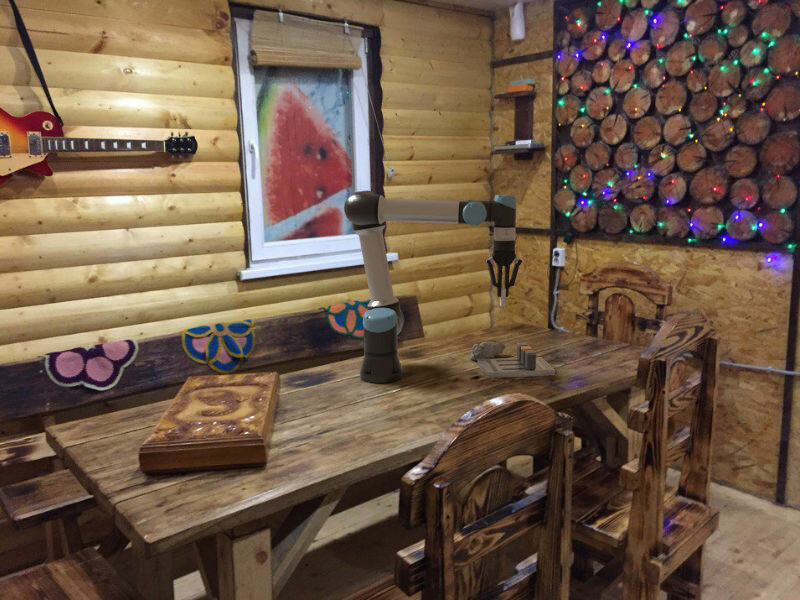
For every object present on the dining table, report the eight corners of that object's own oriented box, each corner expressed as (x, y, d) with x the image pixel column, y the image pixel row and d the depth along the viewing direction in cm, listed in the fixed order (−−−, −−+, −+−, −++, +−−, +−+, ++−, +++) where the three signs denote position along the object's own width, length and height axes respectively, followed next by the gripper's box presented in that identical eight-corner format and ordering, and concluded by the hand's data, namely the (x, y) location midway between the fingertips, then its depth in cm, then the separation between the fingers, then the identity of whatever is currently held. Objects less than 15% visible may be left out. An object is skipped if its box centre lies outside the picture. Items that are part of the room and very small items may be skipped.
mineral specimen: (495, 353, 257) (495, 336, 256) (507, 357, 251) (507, 340, 250) (463, 359, 249) (463, 342, 248) (474, 363, 243) (474, 346, 242)
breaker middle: (523, 364, 231) (523, 348, 230) (520, 362, 235) (521, 346, 234) (531, 364, 232) (531, 348, 231) (529, 361, 235) (529, 346, 234)
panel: (486, 378, 224) (486, 372, 224) (477, 364, 241) (477, 359, 241) (555, 375, 226) (555, 369, 225) (541, 362, 242) (541, 356, 242)
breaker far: (519, 360, 237) (519, 345, 236) (517, 357, 240) (517, 342, 239) (527, 360, 237) (527, 344, 236) (525, 357, 240) (525, 342, 239)
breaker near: (527, 369, 226) (527, 352, 225) (524, 366, 230) (524, 350, 228) (535, 368, 226) (536, 352, 225) (533, 365, 230) (533, 349, 229)
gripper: (488, 240, 223) (486, 308, 227) (525, 240, 224) (523, 307, 228) (483, 238, 230) (482, 304, 235) (520, 238, 231) (518, 303, 235)
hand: (502, 305), depth 231 cm, fingers closed
